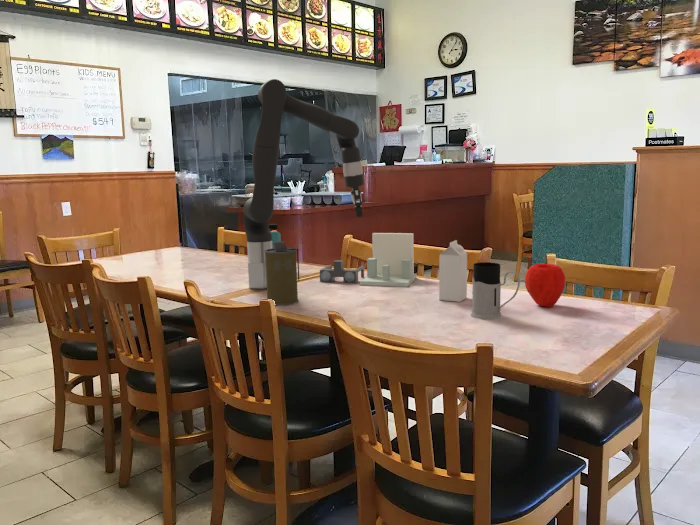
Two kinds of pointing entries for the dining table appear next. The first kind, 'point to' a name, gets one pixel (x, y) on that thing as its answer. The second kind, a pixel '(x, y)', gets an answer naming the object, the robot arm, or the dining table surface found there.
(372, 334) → the dining table surface
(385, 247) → the display stand
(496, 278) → the glass holder
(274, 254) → the canister
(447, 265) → the milk carton
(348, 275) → the spectacles
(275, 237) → the beverage bottle
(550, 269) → the apple
